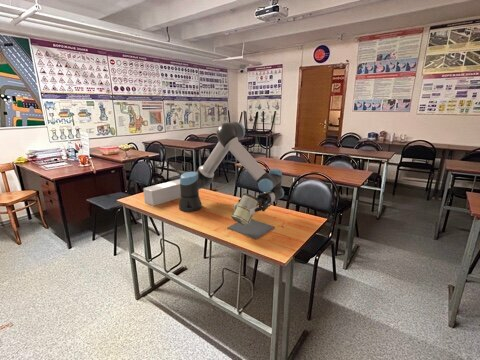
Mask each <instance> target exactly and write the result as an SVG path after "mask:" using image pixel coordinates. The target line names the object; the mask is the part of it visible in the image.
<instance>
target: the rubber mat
mask: <svg viewBox="0 0 480 360" xmlns="http://www.w3.org/2000/svg"><path fill="white" fill-rule="evenodd" d="M226 229H228V230H230V231H232V232H236V233H239V234H241V235H243V236H246V237H248V238H251V239H253V240H258V239H260V238H261V237H262V236H264V235H266V234H267V233H270V232H271V231H273V230H274V229H276V226H274V225H271V224H267V223H265V222H263V221H262V222H261V221H259V220H256V219H253V218H252V219H251V221H250V223H249V226H245V225H242V224H240V223H238V222H236V223H234V224H231V225H230V226H227V227H226Z"/></svg>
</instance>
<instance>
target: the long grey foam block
mask: <svg viewBox="0 0 480 360" xmlns="http://www.w3.org/2000/svg"><path fill="white" fill-rule="evenodd" d="M143 198H144V203H145V204H147V205H151V206H153V207H154V206H157V205H161V204H164V203H167V202H171V201H173V200H176V199H181V189H180V178H179V179H175V180H171V181H170V180H169V181H167V182H162V183H159V184H155V185H151V186H147V187H143Z"/></svg>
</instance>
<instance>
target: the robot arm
mask: <svg viewBox="0 0 480 360" xmlns="http://www.w3.org/2000/svg"><path fill="white" fill-rule="evenodd" d="M245 134H246V130H245V126H244V125H243V124H242V123H240V121H239V122H238V121H231V122H224V123H222V124H219V126H218V127H217V130H216V138H217V139H218V142H217V144H216V145H215V147H214V148H213V150H212V151H211V153H210V154H209V155H208V157H207V159H206V161H204V164H203V165H200V166H199V167H198V168H197V170H196V171H187V172H186V171H185V172H184V173H182V174H181V175H180V177H179V179H180V189H181V197H180V198H179V203H178V209H179V211H180V212H196V211H199V210H201V209H202V208H203V206H202V205H203V204H202V201H201V198H200V195H199V190H201V189H204V188H205V187H208V186H209V185H210V184H212V182H213V181H214V177H215V173H214V172H215V171H216V169H217V168H218V167H219V165H220V164H221V162H222V161H223V159H225V157H226V155H227V154H228V152H230V153H231V154H232V156H234V159H236V160H237V161H238V162H239V163H240V164H241V166H242V167H244V169H245V170H246V171H247V172H248V173H249V174H250V176H251V177H252V178H253V179H254V180H255V181H256V183H257V186H258V189H259V191H260V192H261V193H260V194H257V196H256V198H257V199H258V200H259V201H260V204H259V205H258V206H256V207H254V208H252V209H250V215H251V214H253V213H254V214H255V213H257V212H263V213H264V212H266V210H267V209H268V208H269V207H270V206H271V204H272V203H274V202H277V201H280V200H281V199H282V198H283V197H284V195H285V191H284V188H282V180H283V179H282V178H283V172H282V170H281V169H280V168H271V169H270V170H269V173H267V172H266V170H265V169H264V168H263V167H262V166H261V165H260V164H259V163H258V161H257V160H256V159H255V158H254V157H253V156H252V154H251V153H250V152H249V151H248V150H247V149H246V148H245V147H244V146H243V145H242V143H241V142H240V141H241V140H242V139H243V138H244V137H245ZM239 201H240V199H238V202H236V203H234V204H233V210H234V211H235V209H236V207H237V205H238V203H239Z"/></svg>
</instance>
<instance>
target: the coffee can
mask: <svg viewBox="0 0 480 360" xmlns="http://www.w3.org/2000/svg"><path fill="white" fill-rule="evenodd" d="M239 200H240V201H239ZM239 200H238V202H237V203H238V205H237V207H236V209H235V210H234V211H233V213H232V215H231V219H232V220H234V221H235V222H236V223H237V222H238V223H240V224H242V225H245V226H249V223H250V221H251V219H253V217H254V215H255V213H253V214H251V215H250V209H252V208H254V207H256V206H258V207H259V204H260V201H259V200H258V199H257V197H255V195H252V194H249V193H242V195H241V198H240V199H239Z"/></svg>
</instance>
